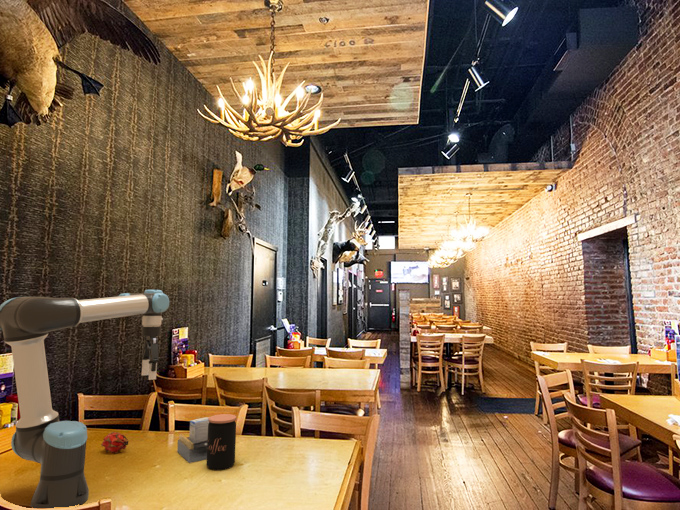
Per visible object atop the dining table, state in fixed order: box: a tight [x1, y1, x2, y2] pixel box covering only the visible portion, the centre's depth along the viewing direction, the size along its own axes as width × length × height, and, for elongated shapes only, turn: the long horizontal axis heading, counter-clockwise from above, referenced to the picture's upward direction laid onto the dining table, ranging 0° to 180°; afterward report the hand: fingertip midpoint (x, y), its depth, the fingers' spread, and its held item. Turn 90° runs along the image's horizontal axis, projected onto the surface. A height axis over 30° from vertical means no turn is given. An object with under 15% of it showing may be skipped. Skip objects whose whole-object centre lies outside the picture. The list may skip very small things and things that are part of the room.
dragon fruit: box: [101, 431, 130, 454], centre depth 179 cm, size 8×8×12 cm
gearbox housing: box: [176, 433, 207, 464], centre depth 177 cm, size 16×17×7 cm
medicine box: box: [188, 416, 209, 444], centre depth 177 cm, size 8×4×9 cm, turn 136°
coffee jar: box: [206, 413, 237, 471], centre depth 164 cm, size 11×11×18 cm
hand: (148, 377), depth 177 cm, fingers open, 13 cm apart
